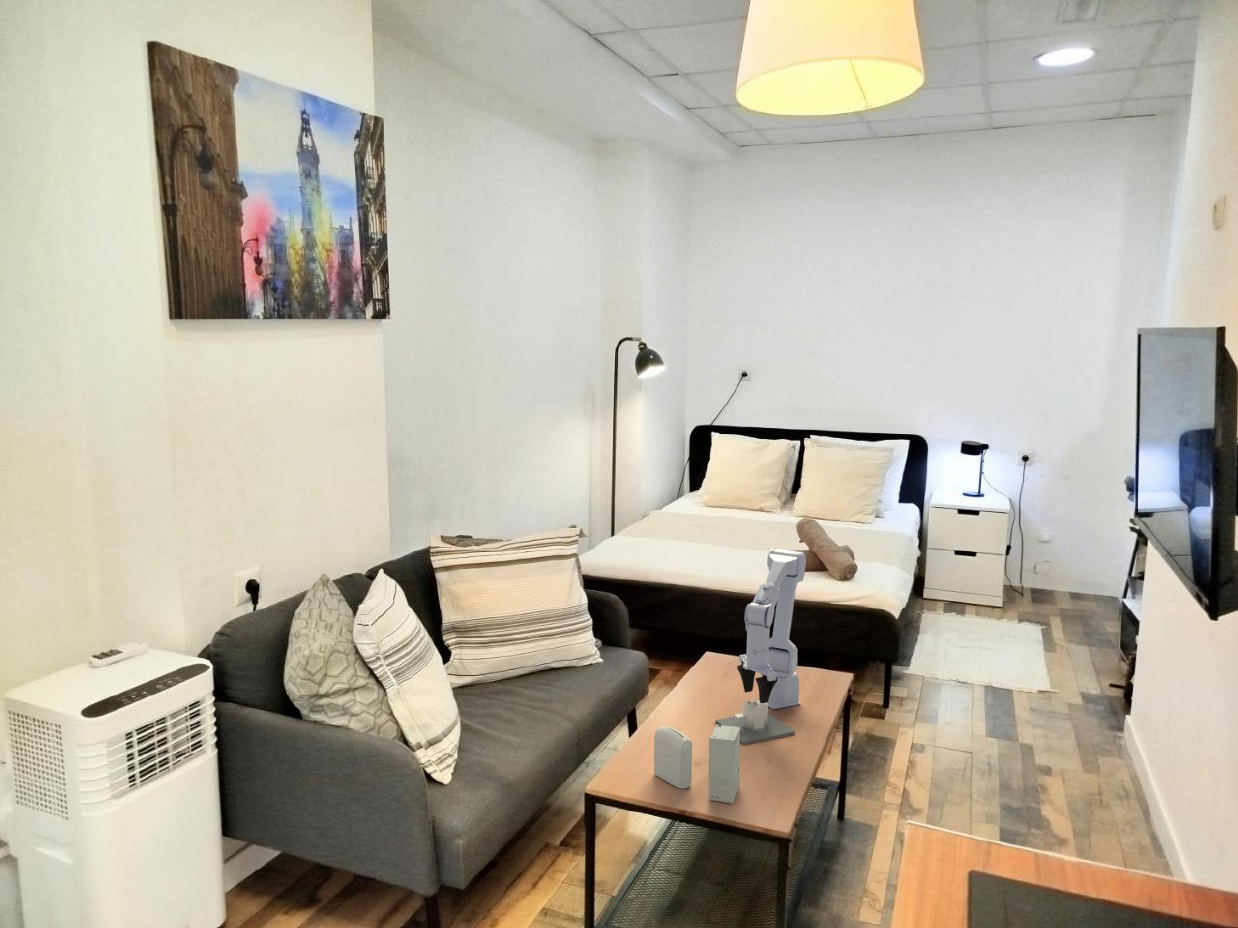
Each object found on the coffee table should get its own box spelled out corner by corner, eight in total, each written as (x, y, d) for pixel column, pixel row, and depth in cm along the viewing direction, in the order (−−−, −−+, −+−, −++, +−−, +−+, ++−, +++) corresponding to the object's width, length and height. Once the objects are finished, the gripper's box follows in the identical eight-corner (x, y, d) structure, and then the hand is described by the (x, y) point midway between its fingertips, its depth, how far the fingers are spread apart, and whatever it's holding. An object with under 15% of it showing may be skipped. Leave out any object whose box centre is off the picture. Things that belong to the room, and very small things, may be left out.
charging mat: (765, 713, 240) (765, 709, 240) (795, 734, 228) (795, 730, 227) (715, 722, 234) (715, 719, 234) (743, 744, 221) (743, 741, 221)
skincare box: (733, 804, 192) (735, 741, 190) (706, 800, 194) (708, 737, 192) (739, 786, 200) (741, 725, 198) (714, 782, 202) (715, 722, 200)
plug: (762, 719, 234) (762, 698, 233) (770, 725, 230) (770, 704, 229) (731, 725, 230) (732, 704, 229) (739, 731, 226) (740, 710, 226)
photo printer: (651, 773, 206) (651, 724, 204) (664, 768, 208) (665, 720, 207) (680, 791, 198) (681, 740, 196) (694, 785, 200) (695, 735, 199)
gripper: (730, 641, 232) (728, 688, 234) (759, 659, 219) (758, 709, 221) (752, 637, 235) (751, 685, 237) (783, 655, 222) (781, 705, 224)
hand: (756, 696), depth 229 cm, fingers open, 7 cm apart
